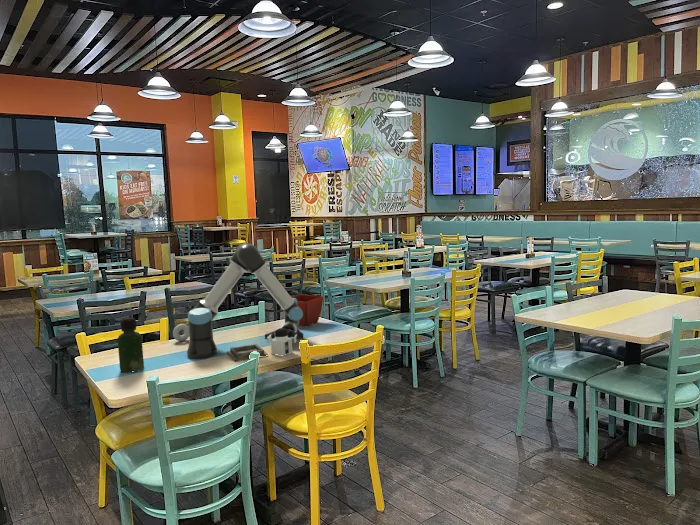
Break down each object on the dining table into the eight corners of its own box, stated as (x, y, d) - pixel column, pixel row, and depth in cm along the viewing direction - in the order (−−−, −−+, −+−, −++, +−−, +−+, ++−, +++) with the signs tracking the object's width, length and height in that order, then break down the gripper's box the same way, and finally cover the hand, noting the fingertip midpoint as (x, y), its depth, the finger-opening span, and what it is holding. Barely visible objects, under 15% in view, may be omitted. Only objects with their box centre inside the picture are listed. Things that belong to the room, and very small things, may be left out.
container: (292, 352, 262) (291, 327, 260) (283, 356, 255) (282, 331, 254) (280, 350, 266) (279, 326, 264) (271, 354, 259) (270, 329, 258)
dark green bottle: (148, 368, 242) (143, 317, 240) (126, 374, 235) (121, 321, 232) (137, 364, 249) (133, 314, 247) (116, 370, 242) (112, 318, 239)
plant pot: (307, 328, 312) (306, 301, 310) (283, 325, 322) (281, 299, 320) (325, 321, 328) (324, 296, 326) (301, 319, 338) (300, 294, 336)
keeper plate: (234, 361, 249) (234, 355, 249) (226, 353, 264) (226, 347, 264) (268, 356, 257) (267, 350, 256) (258, 348, 272) (258, 342, 271)
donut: (174, 343, 288) (173, 326, 287) (172, 342, 291) (171, 324, 290) (192, 340, 294) (190, 323, 293) (190, 338, 297) (188, 322, 295)
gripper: (311, 336, 278) (306, 347, 257) (266, 337, 280) (257, 348, 259) (310, 322, 278) (305, 332, 257) (265, 323, 279) (256, 333, 258)
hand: (281, 340), depth 258 cm, fingers open, 13 cm apart
